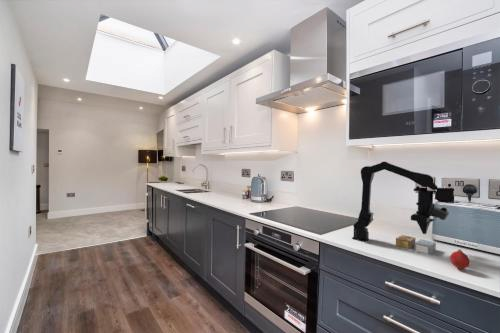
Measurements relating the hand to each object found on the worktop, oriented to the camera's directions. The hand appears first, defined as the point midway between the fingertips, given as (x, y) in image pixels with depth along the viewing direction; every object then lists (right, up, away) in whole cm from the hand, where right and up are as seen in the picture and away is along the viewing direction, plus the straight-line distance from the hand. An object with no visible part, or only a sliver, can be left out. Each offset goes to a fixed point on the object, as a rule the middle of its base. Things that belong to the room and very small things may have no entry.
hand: (424, 233), depth 113 cm
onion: (0, -9, -19) cm, 21 cm away
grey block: (-2, -7, -2) cm, 7 cm away
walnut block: (-7, -6, +5) cm, 11 cm away
